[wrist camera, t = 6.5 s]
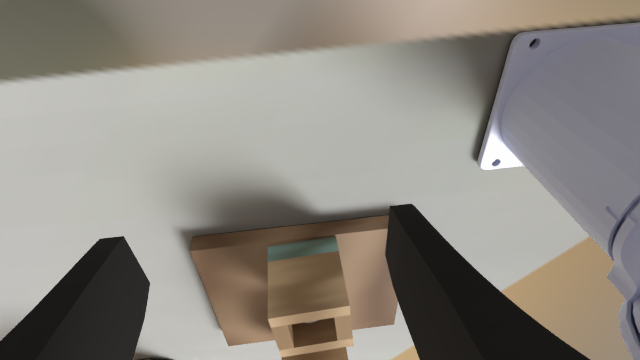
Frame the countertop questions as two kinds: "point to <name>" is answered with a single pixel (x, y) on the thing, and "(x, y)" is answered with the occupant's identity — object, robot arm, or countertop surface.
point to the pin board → (252, 274)
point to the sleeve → (308, 297)
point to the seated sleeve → (321, 355)
